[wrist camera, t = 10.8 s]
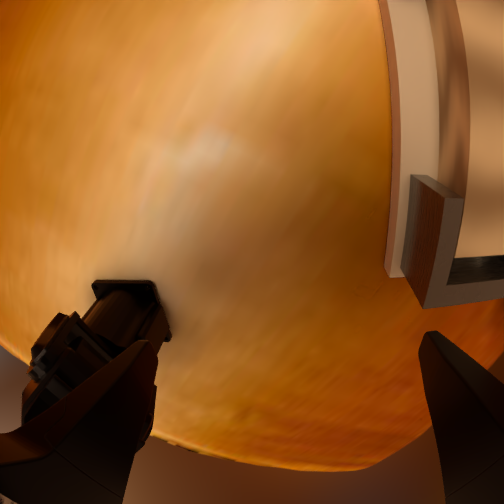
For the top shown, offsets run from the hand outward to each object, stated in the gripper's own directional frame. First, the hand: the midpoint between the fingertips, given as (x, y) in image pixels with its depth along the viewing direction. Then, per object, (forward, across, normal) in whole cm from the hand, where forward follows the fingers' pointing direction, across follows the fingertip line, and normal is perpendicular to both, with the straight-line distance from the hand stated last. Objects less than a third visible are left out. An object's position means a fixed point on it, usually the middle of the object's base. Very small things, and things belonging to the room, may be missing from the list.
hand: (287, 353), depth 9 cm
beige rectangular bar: (+10, -12, -9) cm, 18 cm away
